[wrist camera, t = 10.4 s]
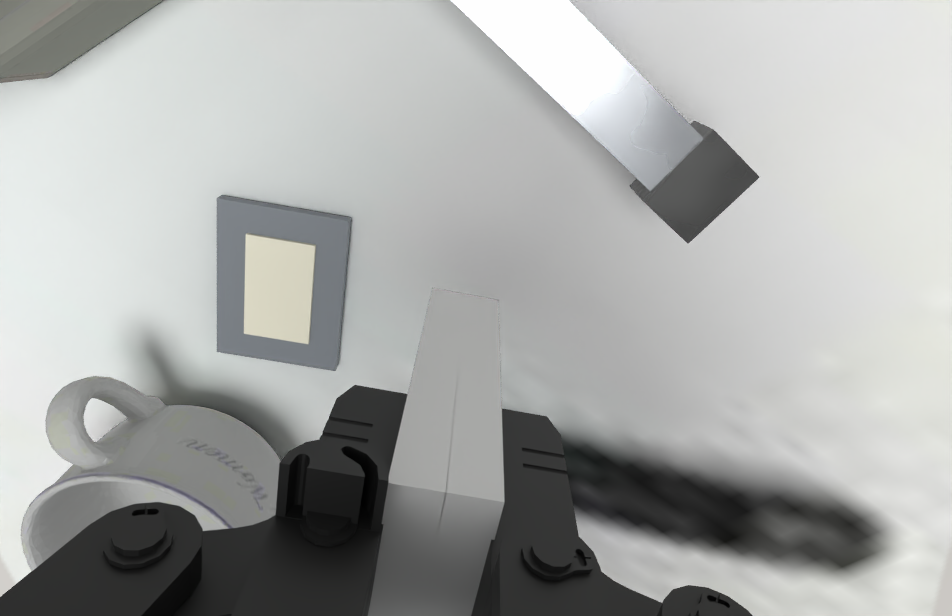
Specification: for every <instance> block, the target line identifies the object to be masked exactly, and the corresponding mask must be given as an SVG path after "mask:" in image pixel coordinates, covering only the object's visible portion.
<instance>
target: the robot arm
mask: <svg viewBox="0 0 952 616" xmlns="http://www.w3.org/2000/svg"><path fill="white" fill-rule="evenodd" d="M0 616H752V615H751V614H750V613H749V611H748V610H746V609H745V608H744V607H742V606H741V605H739V604H738V603H737V602H735V601H734V600H732V599H731V598H730V597H728V596H726V595H724V594H721V593H719V592H717V591H714V590H712V589H709V588H706V587H698V586H690V585H688V586H684V587H680V588H676V589H673V590H672V591H671V592H670V593H669V595H668V596H667V597H666V598H665V599H664V600H663V603H660V602H658V601H656V600H654V599H651V598H649V597H647V596H644V595H642V594H640V593H637V592H635V591H633V590H630V589H628V588H626V587H624V586H622V585H621V584H619V583H617V582H615V581H613V580H612V579H610V578H609V577H608V576H606V575H605V574H604V573H603V572H601V570H600V566H599V564H598V562H597V559H596V557H595V555H594V552H593V551H592V550H591V549H590V548H589V547H588V546H587V545H586V544H585V542H584V541H583V540H582V539H581V538H579V536H578V530H577V525H576V519H575V513H574V508H573V502H572V496H571V491H570V485H569V479H568V475H567V468H566V462H565V459H564V451H563V445H562V439H561V435H560V434H559V432H558V431H557V430H556V428H555V427H554V426H553V424H552V423H551V422H550V420H549V419H548V418H547V417H546V416H540V415H535V414H529V413H523V412H518V411H512V410H506V409H502V401H501V367H500V334H499V301H498V300H496V299H491V298H485V297H480V296H475V295H469V294H464V293H458V292H453V291H448V290H442V289H437V288H432V291H431V296H430V300H429V304H428V309H427V313H426V317H425V322H424V326H423V330H422V334H421V339H420V343H419V347H418V352H417V356H416V360H415V365H414V369H413V373H412V378H411V382H410V386H409V390H408V394H403V393H397V392H392V391H386V390H380V389H375V388H369V387H363V386H357V385H354V386H353V387H352V388H350V389H349V390H348V391H346V392H345V393H344V394H342V395H341V396H340V397H338V398H337V400H336V402H335V404H334V407H333V409H332V411H331V414H330V416H329V420H328V421H327V423H326V425H325V428H324V430H323V434H322V435H321V437H320V440H316V441H311V442H306V443H304V444H302V445H300V446H298V447H296V448H294V449H292V450H291V451H289V452H288V454H287V455H286V456H285V457H284V458H283V460H282V461H281V462H280V463H279V476H278V489H277V502H276V515H275V516H273V517H271V518H269V519H268V520H265V521H262V522H259V523H256V524H254V525H249V526H244V527H238V528H229V529H218V530H207V531H203V529H202V527H201V525H200V523H199V522H198V520H197V518H196V516H195V515H194V514H192V513H190V512H189V511H187V510H185V509H184V508H182V507H181V506H177V505H172V504H167V503H162V502H151V503H137V504H132V505H129V506H126V507H123V508H120V509H117V510H114V511H111V512H109V513H107V514H106V515H104V516H103V517H101V518H99V519H98V520H96V521H94V522H93V523H91V524H90V525H88V526H87V527H86V528H85V529H83V530H82V531H81V532H80V533H78V534H77V535H76V536H75V537H74V538H72V539H71V540H70V541H69V542H67V543H66V544H65V545H64V546H63V547H61V548H60V549H59V550H58V551H56V552H55V553H54V554H53V555H51V556H50V557H49V558H48V559H47V560H45V561H44V562H43V563H42V564H40V565H39V566H38V567H37V568H35V569H34V570H33V571H32V572H31V573H29V574H28V575H27V576H26V577H24V578H23V579H22V580H21V581H19V582H18V583H17V584H16V585H15V586H13V587H12V588H11V589H10V590H8V591H7V592H6V593H5V594H3V595H2V596H1V597H0Z"/></svg>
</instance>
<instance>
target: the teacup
mask: <svg viewBox="0 0 952 616" xmlns="http://www.w3.org/2000/svg"><path fill="white" fill-rule="evenodd" d="M91 398H96V399H99V400H102V401H104V402H106V403H108V404H110V405H112V406H114V407H115V408H117V409H118V410H119V411H121V412H122V413H123V414H124V415H125V416H126V417H127V418H128V419H126V420H125V421H123V422H121V423H120V424H118V425H117V426H116V427H114V428H113V429H112V430H110V431H109V432H108V433H107V434H106V435H104V436H103V437H102V438H101V439H100V440H99V441H98V442H94V441H92V439H91V438H90V437H89V435H88V434H87V432H86V429H85V426H84V419H83V415H84V411H85V407H86V405H87V403H88V401H89V400H90V399H91ZM46 433H47V436H48V439H49V442H50V444H51V446H52V448H53V449H54V450H55V451H56V452H57V454H58V455H59V456H60V457H62V458H63V459H65V460H66V461H68V462H70V463H72V464H73V465H72V466H71V467H70V468H69V469H68V470H67V471H66V472H65V473H64V474H63V475H62V476H61V477H60V478H59V479H58V480H57V481H56V482H55V483H54V484H53V485H51V486H50V487H48V488H47V489H45V490H44V491H43V492H42V493H40V494H39V495H38V496H37V497H36V498H35V499H34V500H33V502H32V503H31V504H30V505H29V507H28V509H27V511H26V513H25V515H24V517H23V521H22V527H21V540H22V547H23V551H24V554H25V557H26V559H27V563H28V565H29V567H30V569H31V571H33V570H34V569H35V568H37V567H38V566H39V565H40V564H42V563H43V562H44V561H45V560H47V559H48V558H49V557H50V556H51V555H53V554H54V553H55V552H56V551H58V550H59V549H60V548H61V547H63V546H64V545H65V544H66V543H67V542H69V541H70V540H71V539H72V538H74V537H75V536H76V535H77V534H78V533H80V532H81V531H82V530H83V529H85V528H86V527H87V526H88V525H90V524H91V523H93V522H94V521H96V520H98V519H99V518H101V517H103V516H104V515H106V514H107V513H109V512H111V511H114V510H117V509H120V508H123V507H126V506H129V505H132V504H137V503H151V502H162V503H167V504H172V505H177V506H181V507H182V508H184V509H185V510H187V511H189V512H190V513H192V514H194V515H195V516H196V518H197V520H198V522H199V523H200V525H201V527H202V529H203V531H207V530H218V529H229V528H238V527H244V526H249V525H254V524H256V523H259V522H262V521H265V520H268V519H269V518H271V517H273V516H275V515H276V502H277V489H278V476H279V463H280V462H281V461H280V459H279V457H278V456H277V454H276V453H275V451H274V450H273V449H272V447H271V446H270V445H269V444H268V443H267V442H266V441H265V440H264V439H263V437H262V436H260V435H259V434H258V433H257V432H256V431H254V430H253V429H252V428H250V427H249V426H247V425H246V424H244V423H243V422H241V421H239V420H237V419H236V418H234V417H232V416H230V415H227V414H225V413H222V412H219V411H217V410H213V409H210V408H205V407H199V406H192V405H170V406H167V405H165V404H164V403H163V402H162V401H161V400H160V399H159V398H157V397H153V396H145V395H143V394H142V393H140V392H139V391H137V390H136V389H134V388H132V387H131V386H129V385H127V384H126V383H124V382H121V381H118V380H116V379H113V378H110V377H99V376H93V377H88V378H84V379H81V380H78V381H74V382H72V383H70V384H68V385H67V386H65V387H63V388H62V389H61V390H60V391H59V392H58V393H57V394H56V395H55V397H54V398H53V400H52V401H51V403H50V405H49V407H48V410H47V415H46Z"/></svg>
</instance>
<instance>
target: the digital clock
mask: <svg viewBox="0 0 952 616" xmlns="http://www.w3.org/2000/svg"><path fill="white" fill-rule="evenodd" d="M161 1H163V0H0V83H3V82H12V81H22V80H31V79H40V78H48V77H49V76H51V75H52V74H54V73H55V72H57V71H58V70H60V69H61V68H63V67H64V66H66V65H67V64H69V63H70V62H72V61H73V60H75V59H76V58H78V57H79V56H81V55H82V54H84V53H85V52H87V51H88V50H90V49H91V48H93V47H94V46H96V45H97V44H99V43H100V42H102V41H103V40H105V39H106V38H108V37H109V36H111V35H112V34H114V33H115V32H117V31H118V30H120V29H121V28H123V27H124V26H126V25H127V24H129V23H130V22H132V21H133V20H135V19H136V18H138V17H139V16H141V15H142V14H144V13H145V12H146V11H148V10H149V9H151V8H152V7H154V6H155V5H157V4H158V3H160V2H161Z"/></svg>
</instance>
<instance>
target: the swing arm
mask: <svg viewBox="0 0 952 616" xmlns="http://www.w3.org/2000/svg"><path fill="white" fill-rule="evenodd" d="M451 1H452V2H453V3H454V4H455V5H456V6H457V7H458V8H459V9H461V10H462V11H463V12H464V13H465V14H466V15H467V16H468V17H469V18H470V19H471V20H472V21H473V22H474V23H475V24H476V25H477V26H478V27H479V28H480V29H481V30H482V31H483V32H485V33H486V34H487V35H488V36H489V37H490V38H491V39H492V40H493V41H494V42H495V43H496V44H497V45H498V46H499V47H500V48H501V49H502V50H503V51H504V52H505V53H506V54H507V55H509V56H510V57H511V58H512V59H513V60H514V61H515V62H516V63H517V64H518V65H519V66H520V67H521V68H522V69H523V70H524V71H525V72H526V73H527V74H528V75H529V76H530V77H532V78H533V79H534V80H535V81H536V82H537V83H538V84H539V85H540V86H541V87H542V88H543V89H544V90H545V91H546V92H547V93H548V94H549V95H550V96H551V97H552V98H553V99H554V100H556V101H557V102H558V103H559V104H560V105H561V106H562V107H563V108H564V109H565V110H566V111H567V112H568V113H569V114H570V115H571V116H572V117H573V118H574V119H575V120H576V121H577V122H578V123H580V124H581V125H582V126H583V127H584V128H585V129H586V130H587V131H588V132H589V133H590V134H591V135H592V136H593V137H594V138H595V139H596V140H597V141H598V142H599V143H600V144H601V145H602V146H604V147H605V148H606V149H607V150H608V151H609V152H610V153H611V154H612V155H613V156H614V157H615V158H616V159H617V160H618V161H619V162H620V163H621V164H622V165H623V166H624V167H625V168H627V169H628V170H629V171H630V172H631V173H632V174H633V175H634V176H635V177H636V178H637V179H636V180H635V181H634V182H633V183H632V184H631V185H630V187H631V188H632V189H633V190H634V191H635V192H636V194H637V195H638V196H639V197H640V198H641V199H642V201H644V202H645V203H646V204H647V205H648V206H649V207H650V208H651V209H652V210H653V211H654V212H655V213H656V214H657V215H658V216H659V217H660V218H661V219H663V220H664V221H665V222H666V223H667V224H668V225H669V226H670V227H671V228H672V229H673V230H674V231H675V232H676V233H677V234H678V235H679V236H680V237H682V238H683V239H684V240H685V241H686V242H687V243H689V242H690V241H692V240H693V239H694V238H695V237H696V236H697V235H698V234H699V233H700V232H701V231H702V230H703V229H704V228H706V227H707V226H708V225H709V224H710V223H711V222H712V221H713V220H714V219H715V218H716V217H717V216H718V215H719V214H721V213H722V212H723V211H724V210H725V209H726V208H727V207H728V206H729V205H730V204H731V203H732V202H733V201H735V200H736V199H737V198H738V197H739V196H740V195H741V194H742V193H743V192H744V191H745V190H746V189H747V188H749V187H750V186H751V185H752V184H753V183H754V182H755V181H756V180H757V179H758V178H759V176H758V175H757V174H756V173H755V172H754V171H753V170H752V169H751V168H750V167H749V166H748V165H747V164H746V163H745V162H744V160H743V159H742V158H741V157H740V156H739V155H738V154H737V153H736V152H735V151H734V150H733V149H732V148H731V147H730V146H729V145H728V144H727V143H726V142H725V141H724V140H723V139H722V138H721V137H720V136H719V135H718V134H717V133H716V132H715V131H714V130H713V129H711V128H709V127H707V126H705V125H702V124H700V123H698V122H696V121H694V122H693V123H692V124H691V125H690V124H689V123H688V122H687V121H686V120H685V119H684V118H683V117H682V116H681V115H680V114H679V113H678V112H677V111H676V110H675V109H674V108H673V107H672V106H671V105H670V104H669V103H668V102H667V101H666V100H665V99H664V98H663V97H662V96H661V95H660V94H659V92H658V91H657V90H656V89H655V88H654V87H653V86H652V85H651V84H650V83H649V82H648V81H647V80H646V79H645V78H644V77H643V76H642V75H641V74H640V73H639V72H638V71H637V70H636V69H635V68H634V67H633V66H632V65H631V64H630V63H629V62H628V61H627V60H626V59H625V58H624V57H623V56H622V55H621V54H620V53H619V52H618V51H617V50H616V49H615V48H614V47H613V46H612V44H611V43H610V42H609V41H608V40H607V39H606V38H605V37H604V36H603V35H602V34H601V33H600V32H599V31H598V30H597V29H596V28H595V27H594V26H593V25H592V24H591V23H590V22H589V21H588V20H587V19H586V18H585V17H584V16H583V15H582V14H581V13H580V12H579V11H578V10H577V9H576V8H575V7H574V6H573V5H572V4H571V3H570V2H569V1H568V0H451Z"/></svg>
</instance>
